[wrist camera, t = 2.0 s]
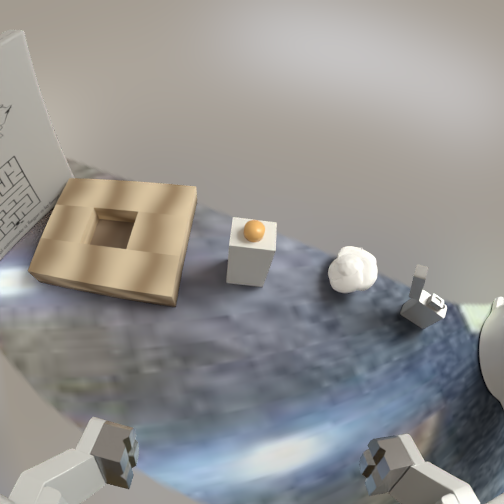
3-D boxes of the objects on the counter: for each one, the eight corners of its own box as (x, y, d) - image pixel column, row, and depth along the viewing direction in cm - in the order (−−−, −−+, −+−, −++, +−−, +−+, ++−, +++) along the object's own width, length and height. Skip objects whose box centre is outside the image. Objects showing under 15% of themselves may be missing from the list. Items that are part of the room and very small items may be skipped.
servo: (264, 262, 35) (278, 217, 27) (262, 287, 33) (277, 246, 26) (229, 258, 34) (233, 211, 27) (226, 282, 33) (229, 240, 25)
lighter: (427, 318, 33) (466, 293, 26) (424, 329, 32) (464, 306, 25) (385, 291, 35) (420, 260, 28) (381, 302, 34) (416, 272, 27)
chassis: (197, 202, 38) (196, 186, 35) (175, 307, 31) (171, 296, 28) (76, 192, 37) (69, 178, 34) (39, 282, 30) (27, 271, 27)
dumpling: (358, 309, 33) (373, 297, 30) (318, 292, 34) (330, 277, 30) (370, 261, 36) (384, 245, 33) (334, 245, 37) (345, 227, 34)
